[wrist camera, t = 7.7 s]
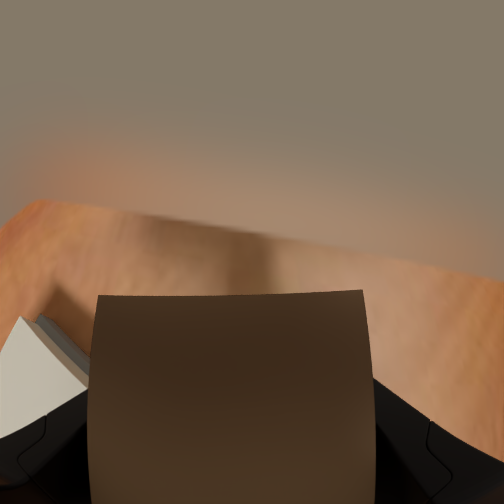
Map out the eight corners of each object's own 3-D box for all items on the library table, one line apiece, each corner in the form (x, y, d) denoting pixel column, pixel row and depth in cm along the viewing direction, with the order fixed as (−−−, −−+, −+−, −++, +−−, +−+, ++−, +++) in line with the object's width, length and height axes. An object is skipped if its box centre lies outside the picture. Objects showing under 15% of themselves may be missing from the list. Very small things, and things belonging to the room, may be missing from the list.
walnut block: (304, 456, 12) (370, 545, 3) (200, 457, 12) (96, 531, 3) (301, 360, 14) (362, 289, 5) (200, 362, 14) (98, 295, 5)
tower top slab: (125, 407, 17) (109, 407, 15) (70, 502, 13) (52, 508, 11) (38, 324, 20) (20, 315, 18) (-6, 413, 16) (-25, 410, 14)
